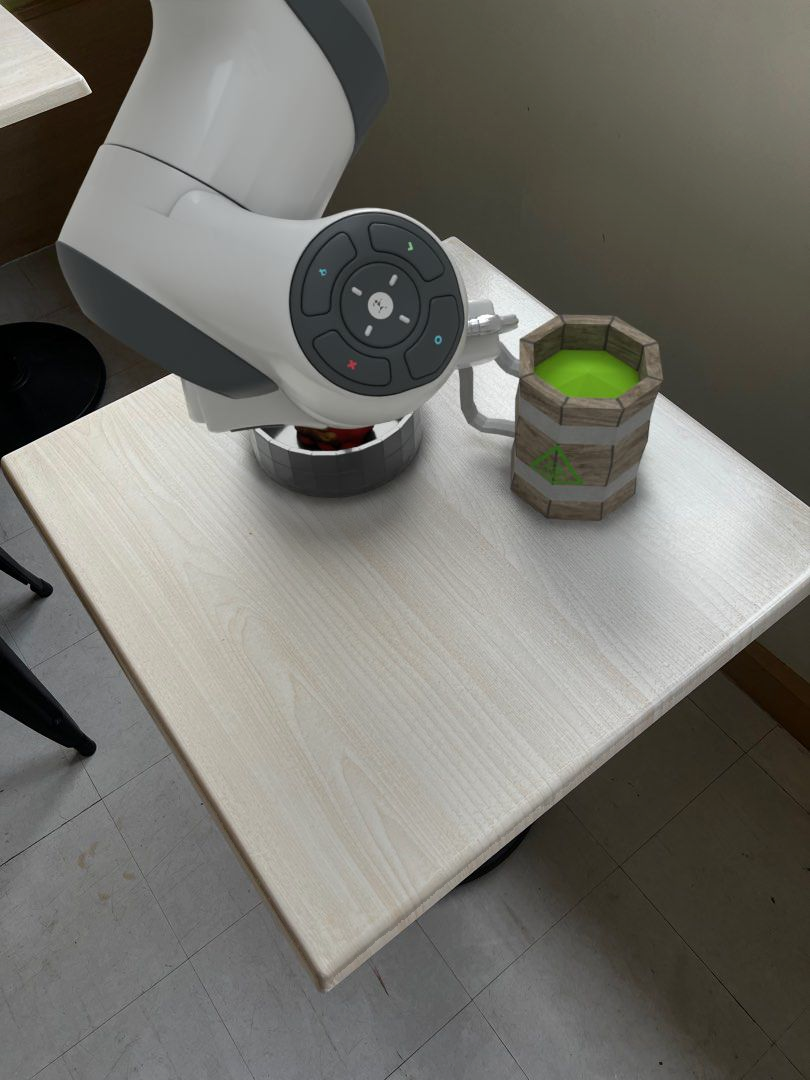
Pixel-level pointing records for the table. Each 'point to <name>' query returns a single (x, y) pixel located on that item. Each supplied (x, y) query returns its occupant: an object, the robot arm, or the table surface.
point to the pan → (338, 458)
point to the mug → (576, 413)
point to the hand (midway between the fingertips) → (334, 369)
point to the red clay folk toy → (333, 437)
